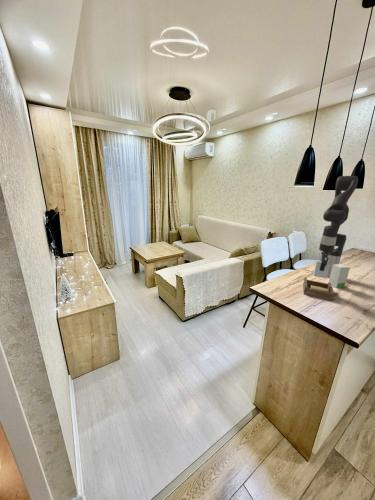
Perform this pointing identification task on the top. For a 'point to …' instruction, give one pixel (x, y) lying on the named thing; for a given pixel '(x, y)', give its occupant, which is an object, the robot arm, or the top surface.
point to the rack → (317, 293)
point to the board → (321, 273)
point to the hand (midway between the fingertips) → (321, 269)
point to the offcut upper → (319, 288)
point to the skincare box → (339, 275)
